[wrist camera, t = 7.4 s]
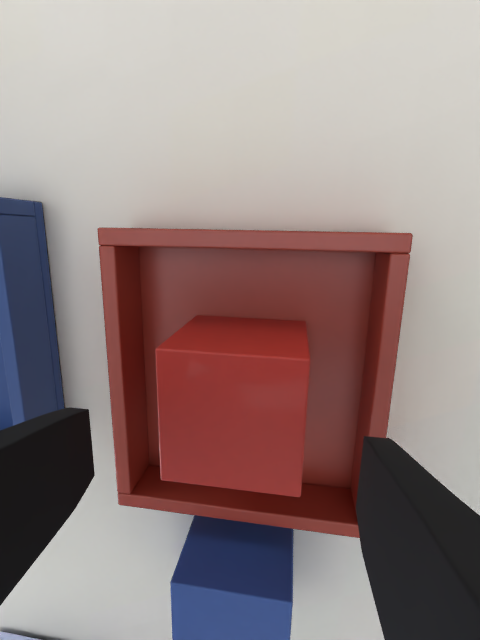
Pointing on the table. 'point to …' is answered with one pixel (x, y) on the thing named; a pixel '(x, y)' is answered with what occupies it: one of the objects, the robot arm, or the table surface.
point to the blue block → (233, 582)
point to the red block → (234, 403)
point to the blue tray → (26, 317)
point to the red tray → (264, 303)
